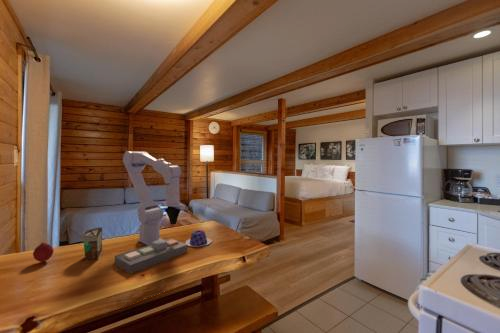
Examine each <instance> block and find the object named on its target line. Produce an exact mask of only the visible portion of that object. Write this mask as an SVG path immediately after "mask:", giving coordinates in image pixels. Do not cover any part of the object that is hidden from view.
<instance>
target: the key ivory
mask: <svg viewBox="0 0 500 333" xmlns="http://www.w3.org/2000/svg"><path fill="white" fill-rule="evenodd" d="M139 257H141V254H140V253H138V252H136V251H134V252H131V253H128V254H125V255H124V258H126V259H127V260H129V261H130V260H133V259H136V258H139Z"/></svg>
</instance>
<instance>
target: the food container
mask: <svg viewBox="0 0 500 333" xmlns="http://www.w3.org/2000/svg"><path fill="white" fill-rule="evenodd" d="M80 239H81V241H83V250H84V257H85V258H84V259H85V260H87V261H98V260H99V259H100V256H101V254H102V252H103V227H102V226H101V227H94V228H89V229H87V230H84V231H83V232H82V234H81V236H80Z"/></svg>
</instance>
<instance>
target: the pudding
mask: <svg viewBox="0 0 500 333" xmlns="http://www.w3.org/2000/svg"><path fill="white" fill-rule="evenodd" d="M184 243H185V244H187V245H188V246H189V247H192V248H194V247H205V246H207V245H210V244H211V243H212V239H211V238H210V237H207V234H206V232H205V231H204V230H195V231H194V230H193V231H192V233H191V236H190V238H189V239H187V240H186V241H185V242H184Z"/></svg>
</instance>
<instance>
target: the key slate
mask: <svg viewBox="0 0 500 333" xmlns="http://www.w3.org/2000/svg"><path fill="white" fill-rule="evenodd" d="M162 239H163V238H161V240H157V241H154V242H152V249H154V250H156V251H159V250H162V249H165V248H167V241H164V240H165V239H164V240H162Z"/></svg>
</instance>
